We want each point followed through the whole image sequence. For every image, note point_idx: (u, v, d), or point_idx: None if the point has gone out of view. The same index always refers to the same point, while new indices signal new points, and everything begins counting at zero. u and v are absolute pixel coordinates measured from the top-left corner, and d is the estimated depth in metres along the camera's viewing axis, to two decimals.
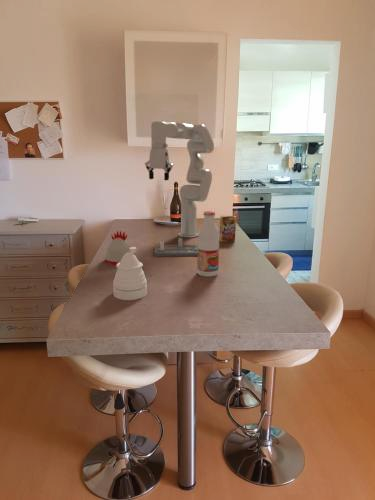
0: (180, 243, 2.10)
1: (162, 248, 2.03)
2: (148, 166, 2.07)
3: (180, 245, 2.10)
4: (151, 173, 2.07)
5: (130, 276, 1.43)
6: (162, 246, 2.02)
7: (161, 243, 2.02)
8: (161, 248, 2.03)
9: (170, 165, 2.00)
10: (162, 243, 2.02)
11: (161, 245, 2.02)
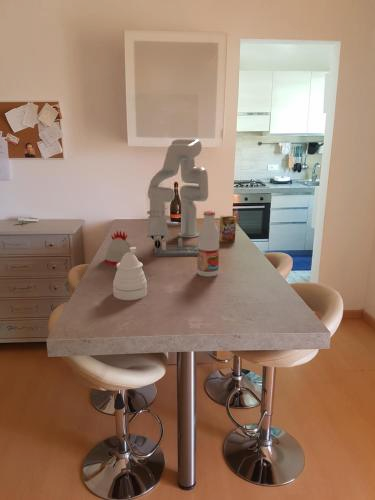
0: (180, 243, 2.10)
1: (164, 248, 2.03)
2: None
3: (180, 245, 2.10)
4: None
5: (130, 276, 1.43)
6: (164, 246, 2.02)
7: (163, 243, 2.02)
8: (163, 248, 2.03)
9: None
10: (164, 243, 2.02)
11: (163, 245, 2.02)
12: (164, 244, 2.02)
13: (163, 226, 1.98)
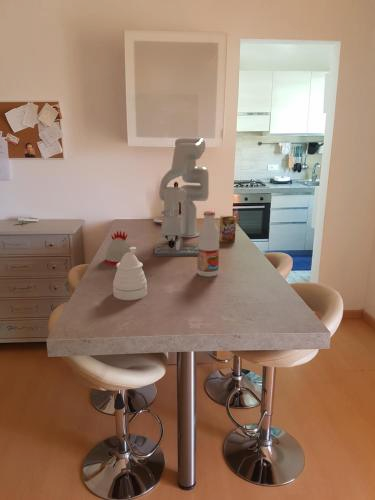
0: (180, 243, 2.10)
1: (178, 248, 2.03)
2: None
3: (180, 245, 2.10)
4: (171, 241, 2.04)
5: (130, 276, 1.43)
6: (178, 246, 2.03)
7: (177, 243, 2.02)
8: (177, 248, 2.03)
9: None
10: (178, 243, 2.02)
11: (177, 245, 2.03)
12: (178, 244, 2.03)
13: (177, 226, 1.99)
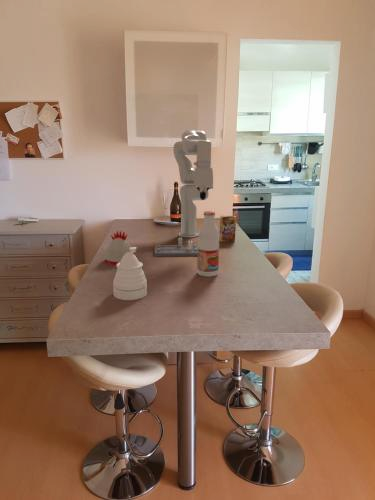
0: (180, 243, 2.10)
1: (190, 248, 2.04)
2: None
3: (180, 245, 2.10)
4: None
5: (130, 276, 1.43)
6: (190, 246, 2.03)
7: (189, 243, 2.03)
8: (189, 248, 2.04)
9: None
10: (190, 243, 2.03)
11: (189, 245, 2.03)
12: (191, 244, 2.03)
13: (209, 177, 2.02)
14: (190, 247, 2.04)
